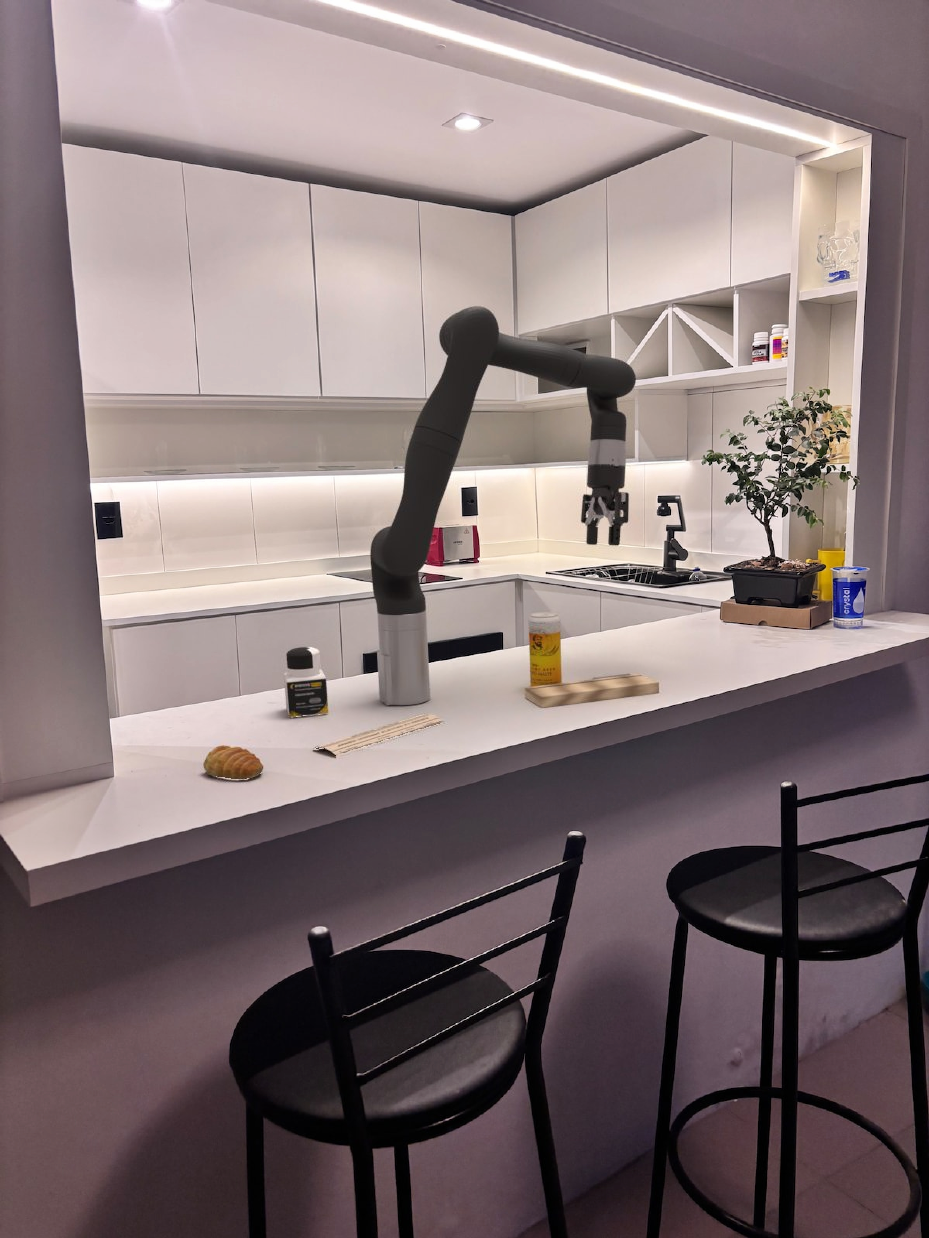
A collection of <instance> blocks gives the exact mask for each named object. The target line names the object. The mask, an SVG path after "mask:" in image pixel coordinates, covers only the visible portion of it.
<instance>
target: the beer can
mask: <svg viewBox="0 0 929 1238" xmlns="http://www.w3.org/2000/svg"><path fill="white" fill-rule="evenodd" d="M561 637H562V636H561V619H560V617H559V613H557V612H551V611H550V612H549V611H543V612H533V613H531V614H530V617H529V618H528V641H529V642H528V645H529V678H530V679H529V681H530V682H529V683H530V687H534V686H542V685H551V684H559V683H563V681H562V678H563V677H562V643H561Z"/></svg>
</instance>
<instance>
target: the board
mask: <svg viewBox="0 0 929 1238" xmlns="http://www.w3.org/2000/svg"><path fill="white" fill-rule="evenodd" d="M524 692H525V694H524V696H525V699H526V698H527V700H528V701H530V702H532V703H534V704H535V705H536V706H538V707H539V708H551V707H559V706H566V705H574V704H580V703H581V704H582V703H591V702H596V701H597V702H598V701H605V700H612V699H621V698H622V699H623V698H629V697H637V696H644V695H652V694H659V693H660V681H656V680H654V679H651V678H649V677H647V676H645V675H642V674H639V673H636V674H635V673H634V674H631V675H625V676H617V677H609V678H600V679H594V678H592V679H586V680H585V679H584V680H579V681H578V680H577V681H569V682H562V683H559V684H551V685H542V686H534V687H531V686H526V687H524Z"/></svg>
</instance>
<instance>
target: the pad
mask: <svg viewBox="0 0 929 1238" xmlns="http://www.w3.org/2000/svg"><path fill="white" fill-rule="evenodd" d="M625 675H632V674H631V673H625V674H624V673H623V674H616V675H614V674H613V675H608V676H607V675H605V676H600V677H599V676H598V677H593V679H600V678H609V677H617V676H625Z"/></svg>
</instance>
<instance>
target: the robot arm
mask: <svg viewBox="0 0 929 1238" xmlns="http://www.w3.org/2000/svg"><path fill="white" fill-rule="evenodd" d="M438 338H439V343H440V347H441V350H442V351H443V352H444V354H446V356H447V358H446V360H445V364H444V365H445V366H444V368H443V370H442V374H441V375H440V376H441V377H439V380H438V382H437V384H436V385H435V387H434V389H433V390H432V392H431V393H430V395H429V397H428V399H427V400H426V402H425V403H424V405H423V407H422V409H421V411H420V412H419V415H418V417H417V420H416V422H415V424H414V428H413V430H412V434H411V436H410V440H409V443H408V446H407V451H406V455H405V461H404V471H403V472H404V474H403V486H402V496H401V498H400V499H401V500H400V503H399V505H398V508H397V511H396V513H395V516H394V519H393V521H392V523H391V525H390V526H386V527H383V528H382V529H380V530H379V531H377V533H376V534H375V535H374V536H373V538H372V541H371V544H370V551H369V553H370V554H369V555H370V556H369V557H370V559H369V560H370V568H371V569H370V571H371V582H372V584H371V585H372V590H373V596H374V600H375V603H376V604H375V605H376V612H377V613H376V614H377V626H378V627H377V630H378V632H377V633H378V645H379V646H378V648H379V649H377V652H376V655H377V659H376V660H377V673H378V692H379V693H378V694H379V700H380V701H382V703H384V705H386V706H410V705H418V704H422V703H425V702H427V701H429V700H430V699H431V685H430V683H431V682H430V667H429V666H430V665H429V646H428V628H427V627H428V625H427V624H428V623H427V622H428V621H427V610H426V609H427V605H426V601H427V600H426V597H425V596H426V595H424V592H423V591H422V586H421V584H420V574H419V571H421V570H422V568H423V567H424V566H425V564H426V562H427V560H428V557H429V552H430V547H431V544H432V539H433V533H434V529H435V524H436V520H437V517H438V516H437V515H438V512H439V509H440V506H441V503H442V500H443V498H444V495H445V492H446V490H447V487H448V484H449V481H450V478H451V475H452V472H453V469H454V467H455V465H456V462H457V458H458V457H459V456H458V455H459V453H460V450H461V447H462V443H463V441H464V440H463V439H464V436H465V433H466V429H467V425H468V423H469V419H470V417H471V413H472V411H473V407H474V403H475V400H476V398H477V397H476V396H477V393H478V390H479V387H480V384H481V382H482V380H483V377H484V375H485V373H486V370H487V368H488V366H492V367H497V368H501V369H507V370H511V371H514V372H518V373H521V374H525V375H527V376H528V375H529V376H532V377H535V378H539V379H541V380H543V381H544V380H545V381H547V382H551V383H553V384H557V385H560V386H563V387H567V388H571V389H582V388H586V396H587V397H586V398H587V404H588V405H587V406H588V411H589V414H590V420H591V424H590V427H591V428H590V439H589V440H590V441H589V447H588V454H587V455H588V457H587V475H586V477H587V478H586V486H587V488H589V489H591V490H592V491H591V494H588V493H587V494H586V493H584V494H583V495H582V504H581V516H580V522H581V524H584V525H585V526H586V541H585V542H586V544H587V545H589V546H591V545H592V546H593V545H594V546H596V545H598V537H599V536H598V535H599V534H598V533H599V527H598V526H599V524H600V521H601V519H603V518H604V517H605V518H607V520H608V524H609V526H608V542H607V543H608V545H609V546H619V545H620V544H621V543H620V541H621V531H622V530H621V529H622V528H621V527H623V526H624V524H628V522H629V507H630V506H629V504H630V503H629V502H630V501H629V500H630V499H629V498H630V493H629V492H625V491H620V490H622V489H624V488H625V482H626V481H625V480H626V466H627V465H626V462H627V449H626V448H627V446H626V437H627V417H626V414H625V413H624V412H622V411H619V408H618V399H619V398H623V397H625V396H627V395H628V394H630V393H631V392H632V391H633V389H634V388H635V385H636V382H637V378H636V373H635V371H634V369H633V367H632V366H631V364H629V363H627V362H626V361H623V360H621V359H619V358H615V357H610V356H603V355H598V354H588V353H584V352H582V351H580V350H576V349H573V348H569V347H568V346H567V347H566V346H564V345H561V344H558V343H552V342H548V341H541V340H534V339H529V338H528V339H526V338H522V337H516V336H512V335H508V334H505V333H501V332H500V328H499V323H498V321H497V318H496V316H495V315H494V313H493V312H492V311H491V310H490V309H489V308H486V307H485V306H480V305H478V306H477V305H476V306H469V307H466V308H464V309H461V310H460V311H458V312H455V313H453V314H452V315H450V316H449V317H448V318H446V320H445V321H444V322H443V323H442V325H441V327H440V330H439V333H438Z"/></svg>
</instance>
